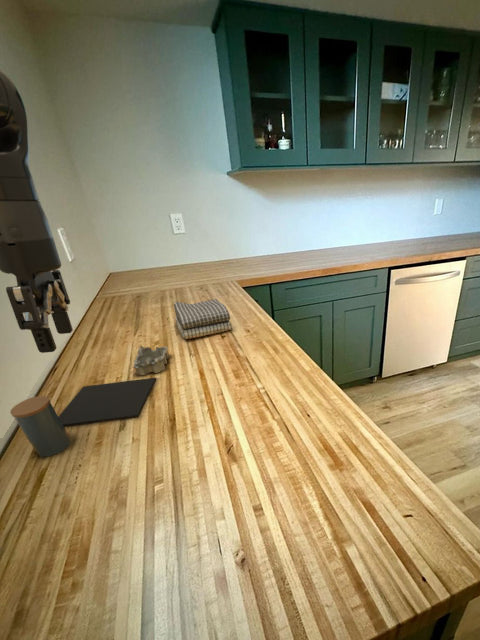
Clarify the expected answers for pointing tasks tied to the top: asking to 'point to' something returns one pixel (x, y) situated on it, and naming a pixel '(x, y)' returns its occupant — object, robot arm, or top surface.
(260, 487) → the top surface
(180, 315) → the towel
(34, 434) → the sugar canister
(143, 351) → the egg carton
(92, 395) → the counter mat
